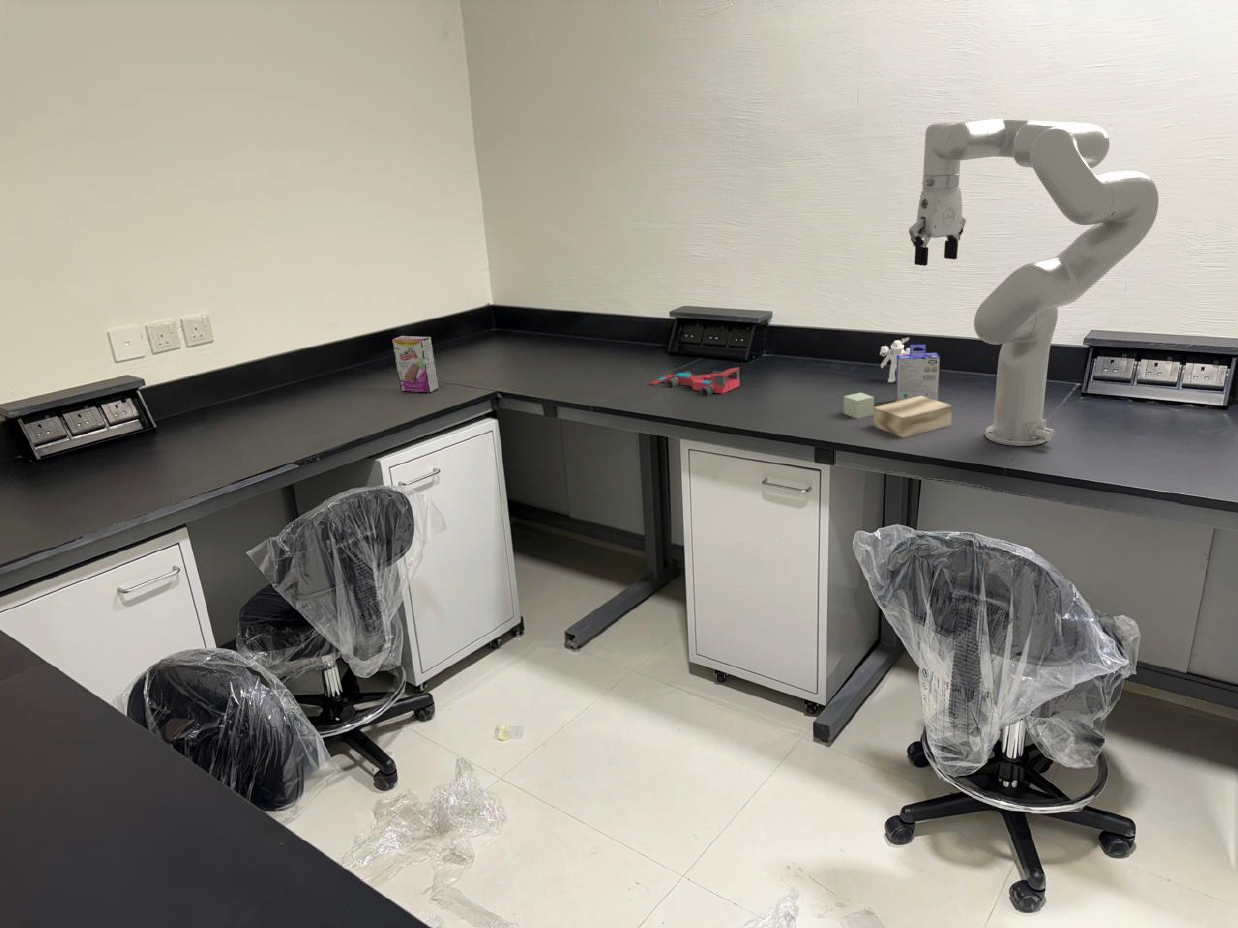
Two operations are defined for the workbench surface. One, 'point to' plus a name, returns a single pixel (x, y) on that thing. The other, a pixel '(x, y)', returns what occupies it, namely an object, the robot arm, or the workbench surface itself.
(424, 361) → the candy bar box
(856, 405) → the sage cube
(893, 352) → the hat wearing toy figure
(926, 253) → the robot arm
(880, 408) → the maple block
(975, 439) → the workbench surface
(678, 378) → the race car
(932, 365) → the ink cartridge box
